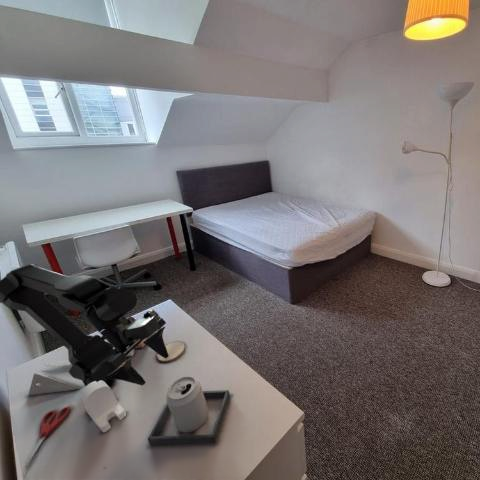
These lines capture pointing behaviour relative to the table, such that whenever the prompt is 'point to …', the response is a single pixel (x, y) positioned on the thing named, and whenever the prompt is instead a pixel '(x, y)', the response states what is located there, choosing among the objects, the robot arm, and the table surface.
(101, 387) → the white phone stand
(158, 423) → the dark grey rectangular frame
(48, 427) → the scissors
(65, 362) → the knife
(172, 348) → the cork coaster
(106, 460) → the table surface
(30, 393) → the grey triangular spike
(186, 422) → the can
